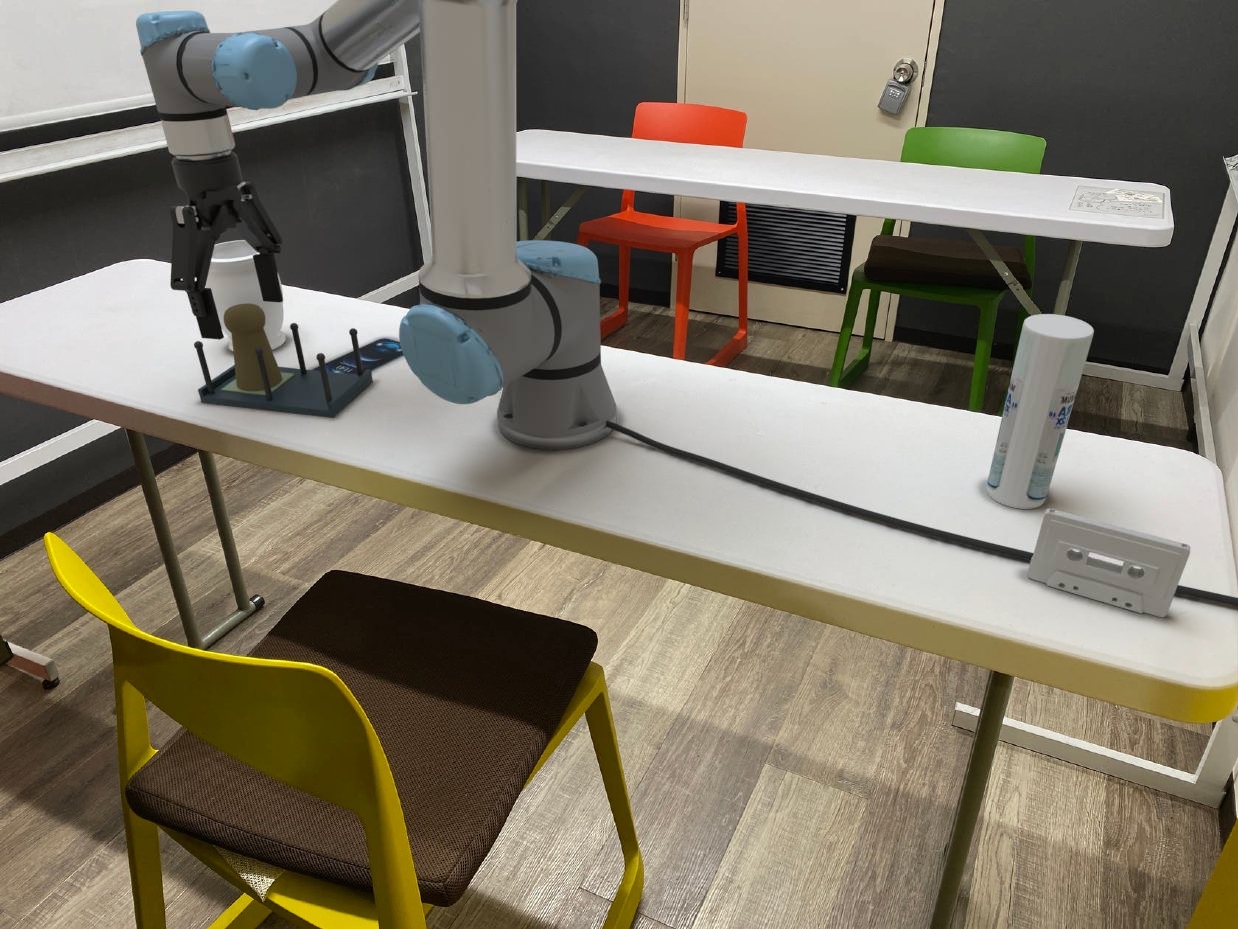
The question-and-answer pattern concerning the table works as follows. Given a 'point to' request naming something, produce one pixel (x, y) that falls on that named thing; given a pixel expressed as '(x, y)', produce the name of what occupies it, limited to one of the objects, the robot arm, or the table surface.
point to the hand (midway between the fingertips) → (244, 318)
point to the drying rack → (289, 385)
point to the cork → (250, 346)
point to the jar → (242, 288)
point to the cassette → (1102, 578)
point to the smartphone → (367, 357)
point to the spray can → (1038, 408)
